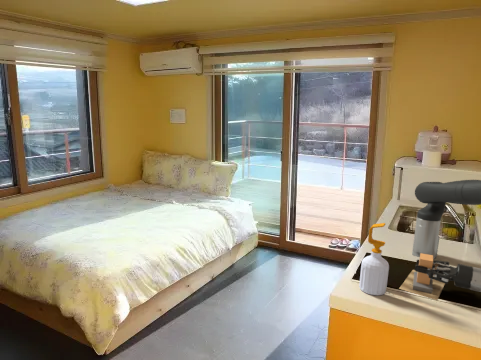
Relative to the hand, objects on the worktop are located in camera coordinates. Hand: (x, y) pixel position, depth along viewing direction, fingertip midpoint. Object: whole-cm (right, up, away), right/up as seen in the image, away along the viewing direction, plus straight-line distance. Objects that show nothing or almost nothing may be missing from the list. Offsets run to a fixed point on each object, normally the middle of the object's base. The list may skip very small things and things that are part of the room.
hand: (416, 265), depth 130 cm
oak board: (+4, -9, +3) cm, 10 cm away
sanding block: (+3, -7, +1) cm, 8 cm away
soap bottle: (-15, -9, +1) cm, 18 cm away
